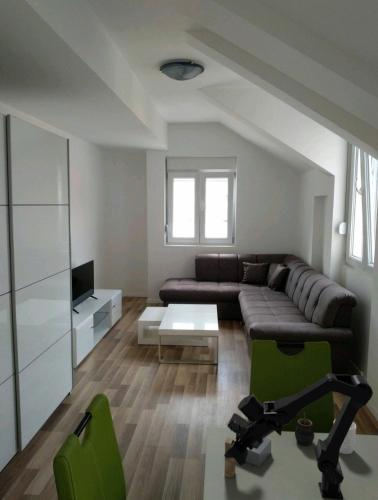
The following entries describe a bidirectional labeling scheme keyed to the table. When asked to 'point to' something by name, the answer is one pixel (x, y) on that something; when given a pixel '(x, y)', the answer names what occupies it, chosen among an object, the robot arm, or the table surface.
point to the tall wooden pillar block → (229, 460)
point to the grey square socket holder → (259, 452)
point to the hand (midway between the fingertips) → (226, 453)
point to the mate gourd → (304, 431)
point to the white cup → (349, 440)
